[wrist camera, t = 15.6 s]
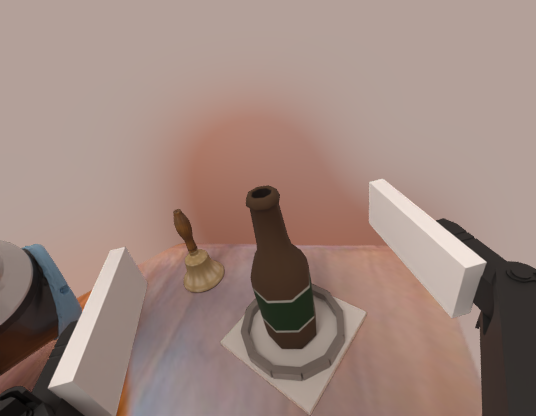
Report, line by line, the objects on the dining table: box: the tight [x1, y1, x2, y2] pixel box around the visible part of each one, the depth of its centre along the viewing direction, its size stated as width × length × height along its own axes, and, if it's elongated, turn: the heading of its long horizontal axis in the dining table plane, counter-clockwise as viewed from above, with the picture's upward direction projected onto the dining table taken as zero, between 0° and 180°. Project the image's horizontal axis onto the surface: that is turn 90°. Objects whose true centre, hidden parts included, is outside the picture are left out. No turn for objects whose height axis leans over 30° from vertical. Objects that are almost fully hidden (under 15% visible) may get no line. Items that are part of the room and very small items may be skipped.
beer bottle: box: [246, 186, 317, 349], centre depth 36 cm, size 8×8×24 cm
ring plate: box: [220, 284, 367, 415], centre depth 42 cm, size 16×16×2 cm
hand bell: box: [173, 209, 224, 293], centre depth 52 cm, size 8×8×16 cm
